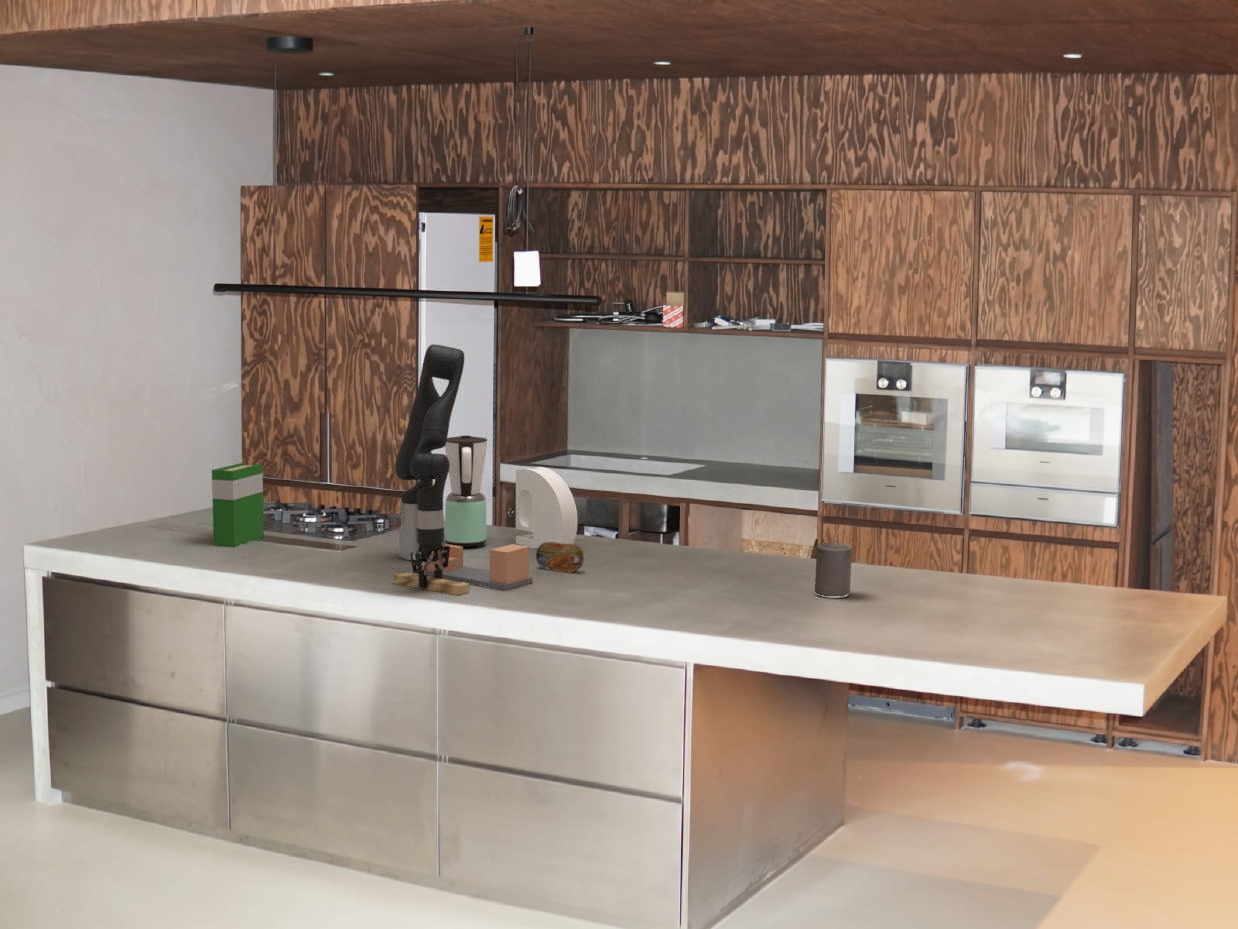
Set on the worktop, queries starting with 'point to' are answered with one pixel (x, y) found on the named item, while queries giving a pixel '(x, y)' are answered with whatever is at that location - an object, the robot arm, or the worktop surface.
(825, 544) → the pillar candle
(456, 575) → the end cap rail
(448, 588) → the slat
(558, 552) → the tin
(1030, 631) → the worktop surface
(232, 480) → the hardback book
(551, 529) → the bracket
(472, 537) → the blender
